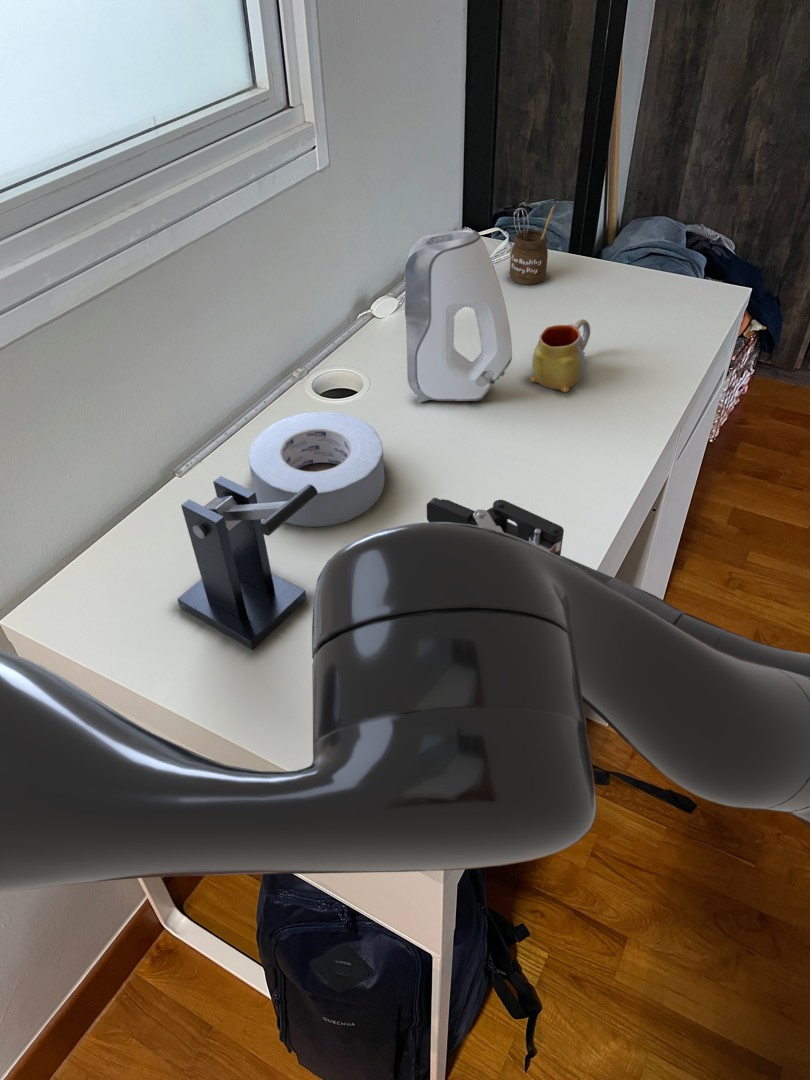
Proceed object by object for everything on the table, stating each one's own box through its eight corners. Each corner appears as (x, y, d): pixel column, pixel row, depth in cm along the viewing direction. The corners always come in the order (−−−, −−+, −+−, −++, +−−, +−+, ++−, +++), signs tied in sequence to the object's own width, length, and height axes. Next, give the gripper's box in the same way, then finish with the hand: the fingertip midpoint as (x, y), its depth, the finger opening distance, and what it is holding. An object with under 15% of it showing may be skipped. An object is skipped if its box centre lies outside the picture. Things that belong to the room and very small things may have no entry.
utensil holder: (514, 267, 137) (519, 194, 129) (551, 272, 136) (558, 199, 127) (504, 282, 133) (508, 208, 125) (542, 288, 132) (549, 213, 123)
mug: (564, 398, 108) (570, 353, 104) (520, 381, 111) (524, 337, 107) (609, 360, 115) (616, 316, 110) (566, 345, 118) (572, 302, 114)
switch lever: (323, 501, 69) (310, 477, 68) (275, 542, 66) (261, 517, 65) (242, 507, 78) (230, 486, 77) (196, 543, 74) (183, 521, 73)
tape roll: (405, 504, 93) (404, 468, 90) (276, 542, 89) (270, 507, 86) (357, 432, 104) (354, 398, 100) (239, 464, 99) (232, 430, 96)
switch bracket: (307, 599, 83) (290, 494, 73) (252, 650, 78) (227, 545, 69) (235, 561, 87) (210, 457, 78) (179, 607, 82) (146, 503, 73)
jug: (407, 402, 108) (401, 239, 94) (412, 381, 112) (407, 221, 98) (508, 407, 107) (518, 241, 92) (509, 385, 111) (520, 223, 96)
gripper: (649, 529, 56) (448, 451, 63) (550, 667, 47) (332, 559, 54) (632, 604, 61) (448, 524, 68) (540, 741, 52) (341, 634, 59)
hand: (396, 540), depth 61 cm, fingers open, 8 cm apart
